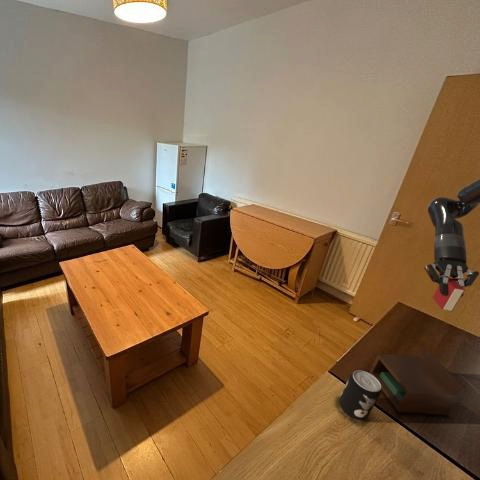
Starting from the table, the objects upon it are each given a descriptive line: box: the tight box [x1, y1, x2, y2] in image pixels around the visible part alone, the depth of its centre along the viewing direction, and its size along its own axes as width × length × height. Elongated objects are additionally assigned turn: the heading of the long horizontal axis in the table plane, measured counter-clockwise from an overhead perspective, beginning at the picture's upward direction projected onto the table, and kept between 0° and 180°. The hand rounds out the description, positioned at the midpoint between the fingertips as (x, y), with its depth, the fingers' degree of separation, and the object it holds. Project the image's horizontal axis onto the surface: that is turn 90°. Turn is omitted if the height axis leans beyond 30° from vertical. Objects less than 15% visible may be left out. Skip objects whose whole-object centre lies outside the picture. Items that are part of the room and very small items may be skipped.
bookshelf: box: [368, 348, 467, 416], centre depth 71 cm, size 12×12×11 cm
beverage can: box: [338, 369, 382, 421], centre depth 67 cm, size 7×7×12 cm
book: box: [432, 277, 465, 312], centre depth 88 cm, size 3×7×9 cm, turn 156°
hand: (451, 296), depth 86 cm, fingers closed on book, 2 cm apart
